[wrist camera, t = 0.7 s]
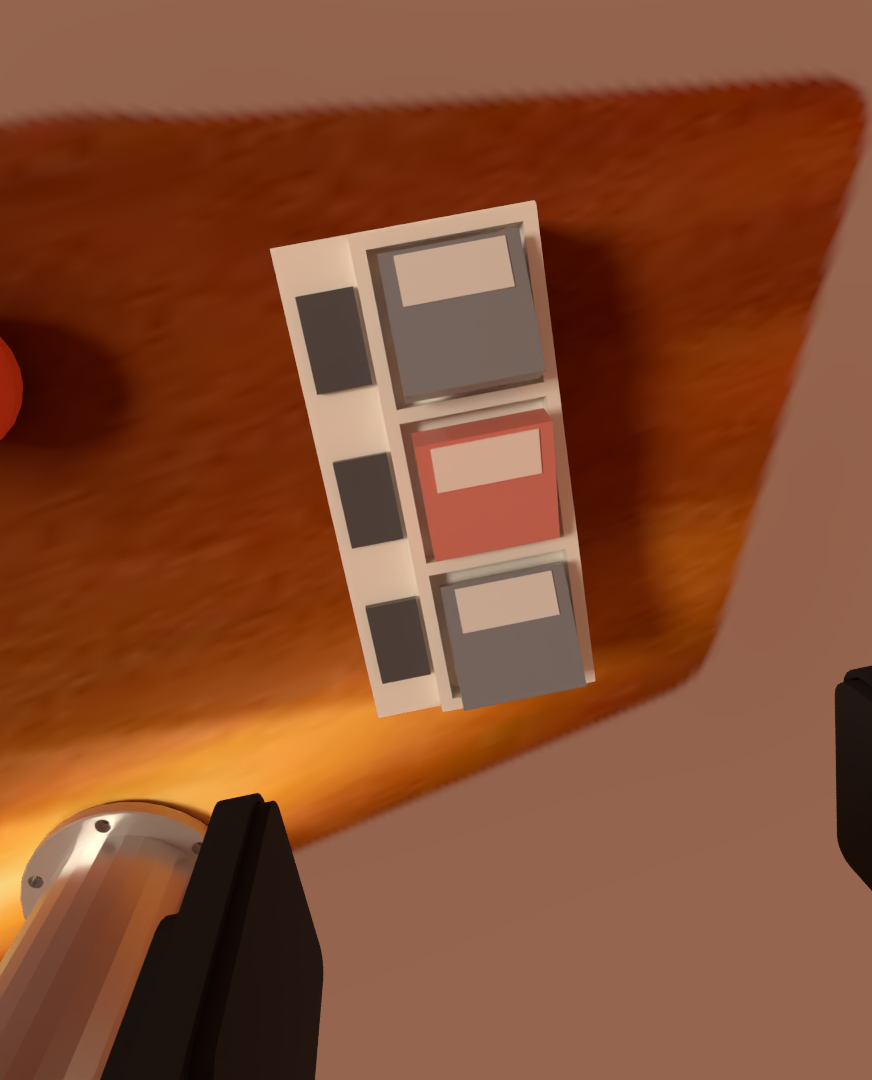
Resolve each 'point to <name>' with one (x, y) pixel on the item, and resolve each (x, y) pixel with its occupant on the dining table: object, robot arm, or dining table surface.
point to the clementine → (9, 388)
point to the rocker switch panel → (407, 450)
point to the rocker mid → (489, 483)
